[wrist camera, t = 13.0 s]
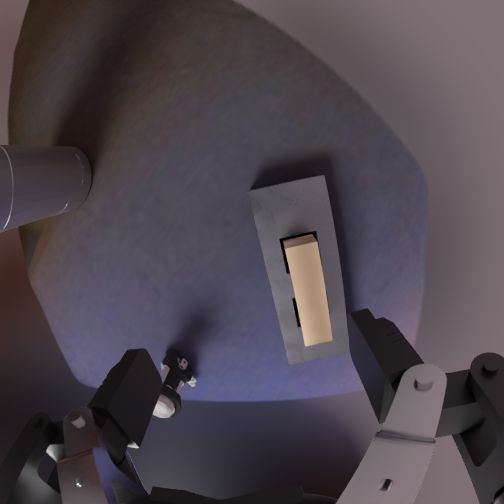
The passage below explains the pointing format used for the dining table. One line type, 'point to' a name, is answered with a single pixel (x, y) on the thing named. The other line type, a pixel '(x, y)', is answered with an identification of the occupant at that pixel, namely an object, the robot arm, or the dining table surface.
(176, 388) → the push button
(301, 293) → the wooden peg block
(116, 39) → the dining table surface
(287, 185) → the grey block with holes
